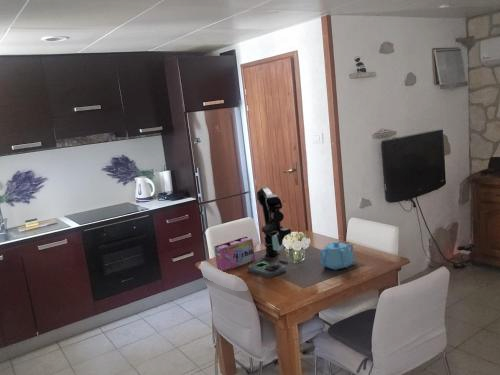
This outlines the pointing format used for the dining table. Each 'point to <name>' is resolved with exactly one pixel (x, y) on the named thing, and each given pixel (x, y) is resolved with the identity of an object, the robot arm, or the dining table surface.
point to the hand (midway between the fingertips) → (277, 244)
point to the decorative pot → (337, 255)
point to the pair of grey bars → (281, 261)
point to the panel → (266, 269)
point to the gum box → (234, 253)
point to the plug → (276, 243)
